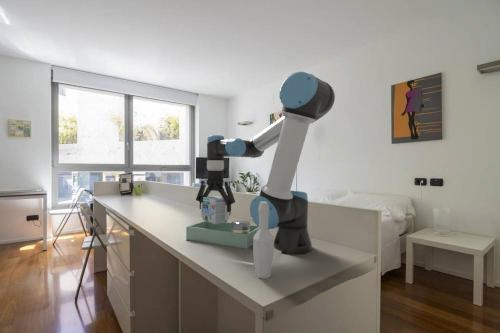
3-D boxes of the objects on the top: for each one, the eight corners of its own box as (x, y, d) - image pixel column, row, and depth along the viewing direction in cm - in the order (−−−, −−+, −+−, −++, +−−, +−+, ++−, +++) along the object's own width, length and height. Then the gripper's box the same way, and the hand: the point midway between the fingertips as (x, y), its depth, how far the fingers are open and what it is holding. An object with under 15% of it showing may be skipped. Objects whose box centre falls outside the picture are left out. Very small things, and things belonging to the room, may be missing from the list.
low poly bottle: (250, 271, 79) (251, 201, 79) (270, 270, 81) (270, 200, 81) (255, 280, 73) (256, 204, 73) (276, 278, 74) (277, 203, 74)
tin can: (253, 239, 111) (253, 221, 111) (244, 244, 104) (245, 225, 104) (236, 237, 115) (236, 219, 115) (227, 242, 107) (227, 223, 107)
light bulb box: (202, 220, 117) (202, 196, 117) (214, 218, 121) (214, 195, 121) (215, 224, 109) (215, 199, 109) (228, 222, 113) (228, 197, 113)
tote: (262, 239, 114) (262, 226, 114) (247, 250, 100) (247, 234, 99) (206, 231, 126) (206, 219, 126) (186, 240, 112) (186, 226, 112)
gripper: (243, 170, 113) (242, 219, 113) (198, 169, 123) (197, 213, 124) (235, 170, 106) (234, 222, 106) (188, 169, 117) (187, 216, 117)
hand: (214, 217), depth 115 cm, fingers closed on light bulb box, 12 cm apart
